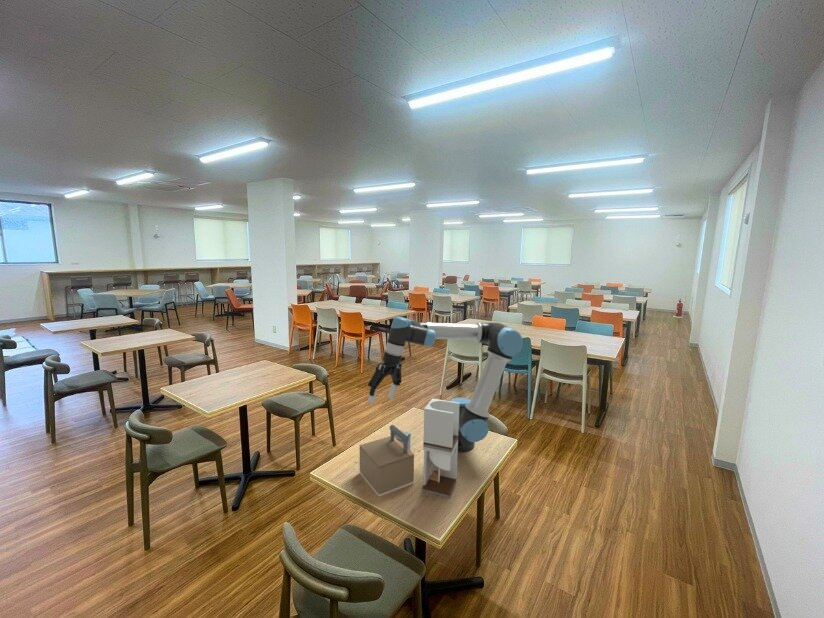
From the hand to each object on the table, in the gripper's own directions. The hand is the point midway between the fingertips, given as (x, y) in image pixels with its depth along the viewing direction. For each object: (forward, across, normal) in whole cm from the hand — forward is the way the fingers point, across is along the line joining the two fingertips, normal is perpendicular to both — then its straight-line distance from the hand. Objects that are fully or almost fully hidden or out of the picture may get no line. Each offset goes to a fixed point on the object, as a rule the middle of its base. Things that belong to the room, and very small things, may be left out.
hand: (380, 400), depth 153 cm
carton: (+30, -2, +11) cm, 32 cm away
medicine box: (+28, -24, +3) cm, 37 cm away
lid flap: (+19, 0, +9) cm, 21 cm away
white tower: (+26, -10, +32) cm, 42 cm away
